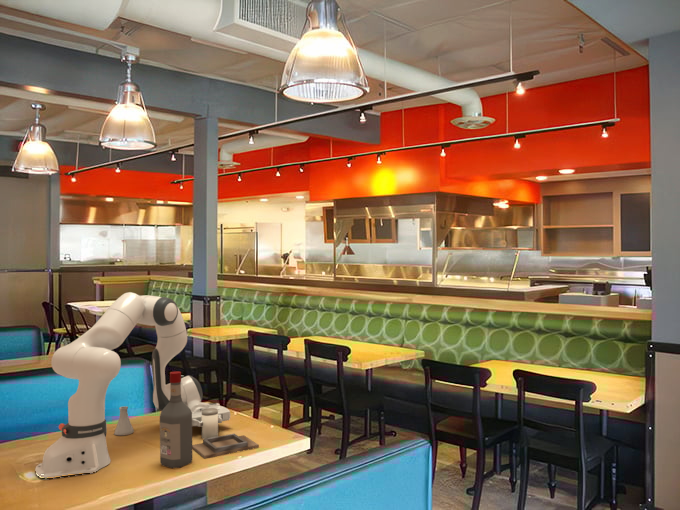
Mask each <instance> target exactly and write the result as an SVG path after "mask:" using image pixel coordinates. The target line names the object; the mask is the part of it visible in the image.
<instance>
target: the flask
mask: <svg viewBox="0 0 680 510" xmlns="http://www.w3.org/2000/svg"><path fill="white" fill-rule="evenodd" d="M128 408H129V406H120V407H119V408H118V409H119V416H118V417H119V418H118V422H117V424H116V427H115V430H114V433H113V435H115V436H128V435H131V434H133V433H134V432H135V431H134V427H133V425H132V422H131V420H130V418H129V413H128Z"/></svg>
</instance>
